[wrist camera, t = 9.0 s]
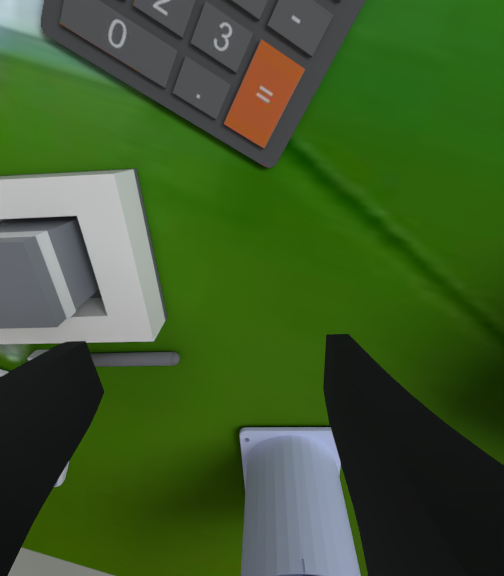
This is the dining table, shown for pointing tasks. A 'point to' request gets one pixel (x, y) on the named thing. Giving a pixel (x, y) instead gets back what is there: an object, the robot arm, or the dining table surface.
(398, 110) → the dining table surface
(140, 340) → the switch plate
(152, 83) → the calculator
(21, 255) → the block
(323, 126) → the dining table surface
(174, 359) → the cable
